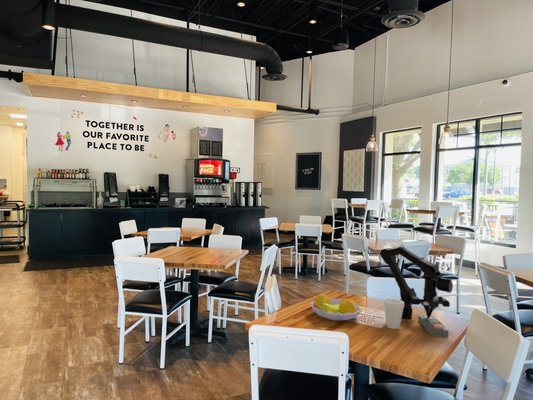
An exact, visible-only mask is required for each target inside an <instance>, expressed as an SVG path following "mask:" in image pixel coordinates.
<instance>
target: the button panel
mask: <svg viewBox="0 0 533 400" xmlns="http://www.w3.org/2000/svg"><path fill="white" fill-rule="evenodd" d="M423 316H426V315H421V314H419V315H418V322H419V323H420V324H421V325H422V327H423V328H424V329H425V330H426V332H427V333H428V334H429V335H430V336H437V337H449V329H448V328H446V326H445V325H444V324H443V323H442V322H441V321H439V319H438V318H437V317H436V316H435V315H431V316H430V317H432V318H433V319H436V320H437V321H438V324H441V325H442V326H443V330H442V329H434V328H433V327H432V324H429V322H428V319H425V318H424V317H423Z"/></svg>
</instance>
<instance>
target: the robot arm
mask: <svg viewBox="0 0 533 400" xmlns="http://www.w3.org/2000/svg"><path fill="white" fill-rule="evenodd" d="M379 255H380V258H381V259H382V260H383V262H384V263H386V265H388V267H389V269H390V272H391V274H392V276H393V279H394V280H395V282H396V284H397V286H398V289H399V296H400V299H399V300H401V301H403V302H404V308H403V313H402V318H401V319H411V320H413V308H412V306H413V305H416V306H418V305H421V306H423V308H424V312H425V314H426V315H425V316H427V317H428V318H430V316H432V313H433V311H434V310H435V309H436V308H438V307H439V306H440V305H442V307H445V308H450V305H451V304H450V301H449V300H448V299H446V298H444V297H443V296H438V295H437V293H438V291H441V292H446V293H452V292H453V288H454V284H453V281H452V278H445V277H443V274H441V272H440V270H439V269H440V268H439V266H438V265H437V264H436V263H434V262H430V261H427V260H425V259H423V258H421V257H420V256H418V255H417V254H415V253H414V252H412V251H410V250H408V249H407V248H406V247H405V246H399V247H395V248H391V247H387V248H382V249H381V250H380V253H379ZM396 255H400V256H401V257H403V258H404V259H406V260H407V261H409V262H411V263H412V264H414V265H415V266H417V267H418V268H419V269H420V271H421V272H422V273H424V274H423V275H422V276H421V277H420V279H423V280H424V287H423V295H422V298H419V296H417V295H418V294H417V292H416V291H415V288H413V287H412V288H411V287H410V286H409V285H408V283H407V281H406V279H405V277H404V274H403V273H402V271H401V269H400V267H399V264H398V262H397V256H396ZM437 290H438V291H437Z"/></svg>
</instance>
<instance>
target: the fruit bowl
mask: <svg viewBox="0 0 533 400" xmlns="http://www.w3.org/2000/svg"><path fill="white" fill-rule="evenodd" d="M311 307H312V310H313V312H314V313H316V314H317V315H318V316H319V317H322V318H324V319H328V320H329V321H333V322H335V321H336V322H337V321H347V320H351V319H355V318H357V317H358V316H359V314H361V311H362V308H361V307H360V305H359V304H358V303H356V302H355V300H353V299H351V298H350V299H349V298H344V299H341V298H331V297H330V298H329V297H328V296H327V295H326V294H318V295H317V296H315V298H314V300H312V301H311ZM340 313H341V314H340Z"/></svg>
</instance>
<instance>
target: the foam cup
mask: <svg viewBox="0 0 533 400" xmlns="http://www.w3.org/2000/svg"><path fill="white" fill-rule="evenodd" d="M383 302H384V310H385V311H384V313H385V314H384V315H385V325H387V326H386V327H387V328H389V329H393V330H398V329H400V327H401V321H402V319H403V318H402V313H403V308H404V302H403V301H401V300H400V299H397V298H391V297H390V298H385V299H384V300H383Z"/></svg>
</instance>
